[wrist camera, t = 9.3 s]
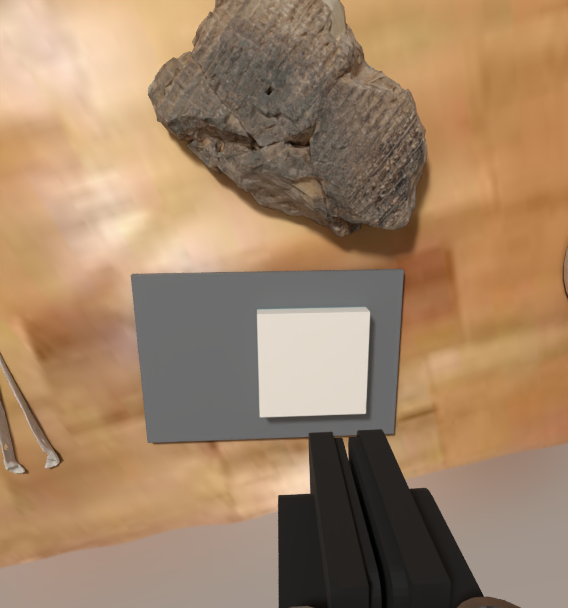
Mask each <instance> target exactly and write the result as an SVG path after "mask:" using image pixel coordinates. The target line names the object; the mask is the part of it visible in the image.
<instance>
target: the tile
mask: <svg viewBox="0 0 568 608" xmlns="http://www.w3.org/2000/svg"><path fill="white" fill-rule="evenodd" d="M369 327H370V311H369V310H368V309H367V308H366V307H322V308H277V309H257V335H258V373H259V410H260V417H287V416H316V415H345V414H366V398H367V374H368V351H369Z"/></svg>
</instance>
